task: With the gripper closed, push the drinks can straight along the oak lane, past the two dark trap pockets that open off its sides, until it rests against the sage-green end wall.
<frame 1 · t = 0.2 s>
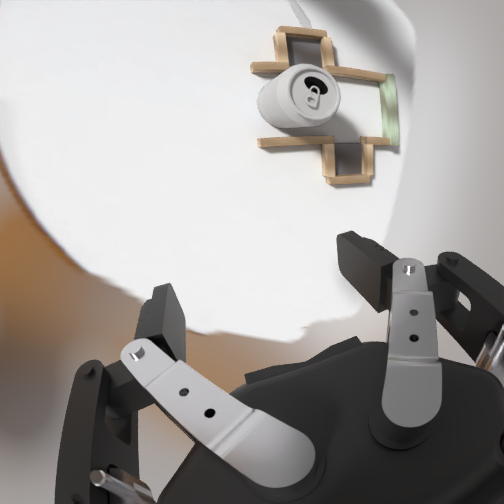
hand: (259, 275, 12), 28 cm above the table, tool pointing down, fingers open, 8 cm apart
can: (281, 104, 35), on the table
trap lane: (328, 104, 36), on the table
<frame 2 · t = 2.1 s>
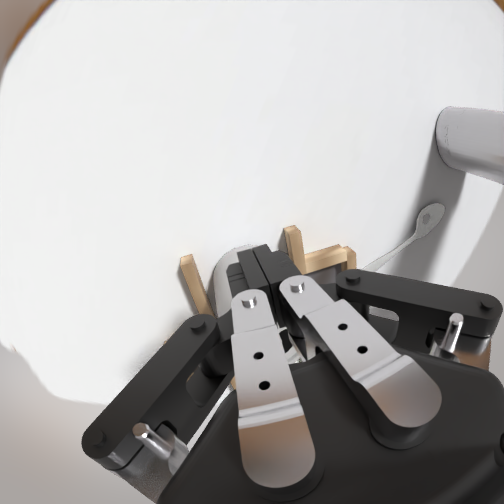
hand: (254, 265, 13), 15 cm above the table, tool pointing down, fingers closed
can: (246, 272, 30), on the table
spoon: (391, 246, 34), on the table
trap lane: (260, 323, 33), on the table
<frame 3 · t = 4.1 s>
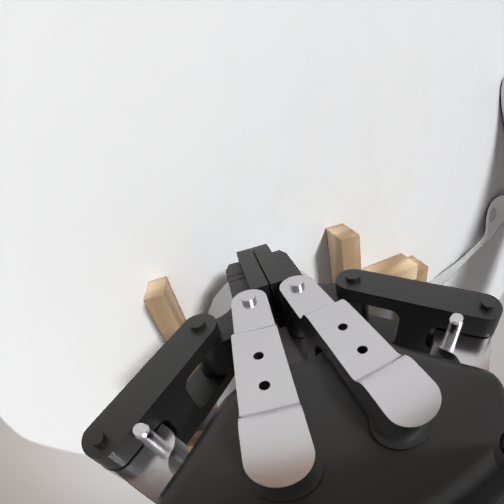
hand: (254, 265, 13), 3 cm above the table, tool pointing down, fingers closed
can: (262, 308, 18), on the table, touching gripper
spoon: (456, 253, 21), on the table
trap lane: (280, 373, 21), on the table
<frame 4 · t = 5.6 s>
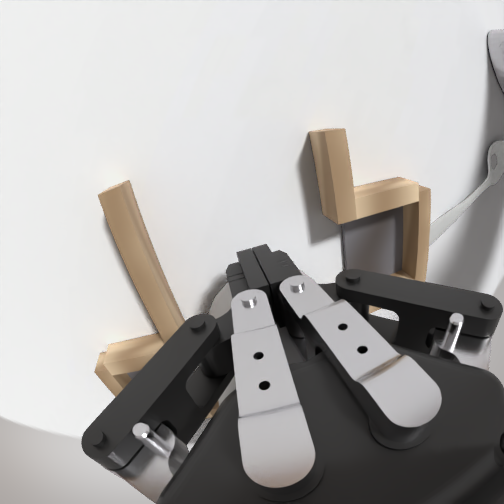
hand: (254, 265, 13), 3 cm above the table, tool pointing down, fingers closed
can: (263, 308, 18), on the table, touching gripper
spoon: (459, 195, 19), on the table
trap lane: (265, 323, 18), on the table
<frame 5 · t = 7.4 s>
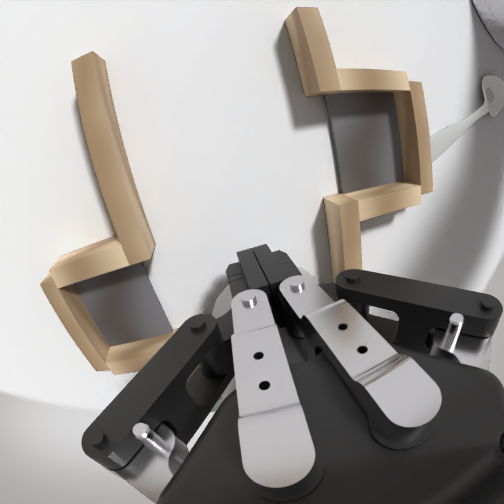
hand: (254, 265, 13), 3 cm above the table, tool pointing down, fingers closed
can: (266, 307, 18), on the table, touching gripper
spoon: (458, 119, 16), on the table
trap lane: (243, 227, 15), on the table
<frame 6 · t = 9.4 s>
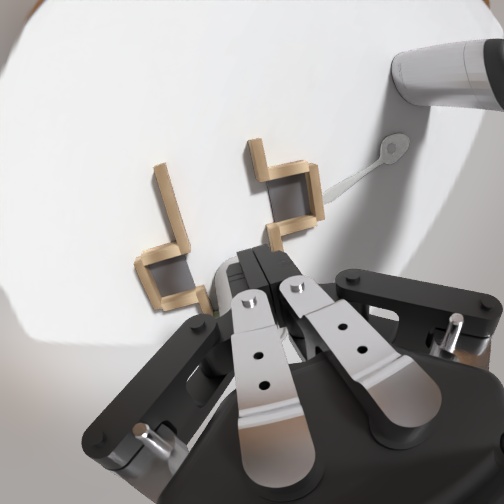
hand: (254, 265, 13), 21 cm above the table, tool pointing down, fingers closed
can: (241, 276, 38), on the table
spoon: (357, 171, 35), on the table
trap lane: (229, 238, 35), on the table
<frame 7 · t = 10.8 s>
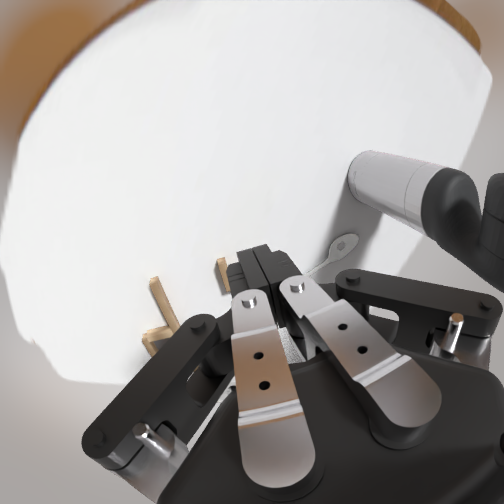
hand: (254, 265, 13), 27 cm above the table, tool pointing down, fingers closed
spoon: (309, 268, 47), on the table
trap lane: (208, 322, 47), on the table
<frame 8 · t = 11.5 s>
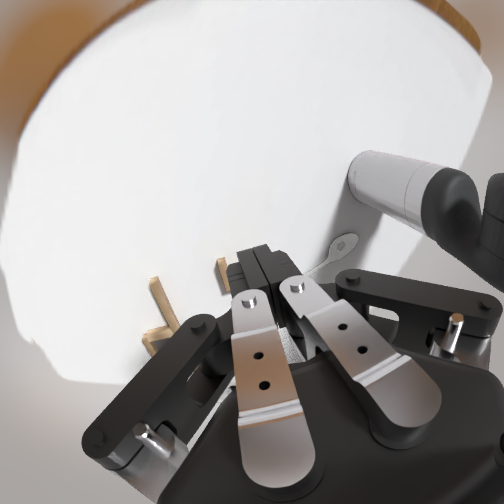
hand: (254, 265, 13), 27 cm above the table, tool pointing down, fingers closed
spoon: (309, 268, 47), on the table
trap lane: (208, 322, 47), on the table
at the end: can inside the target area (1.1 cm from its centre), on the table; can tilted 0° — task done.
